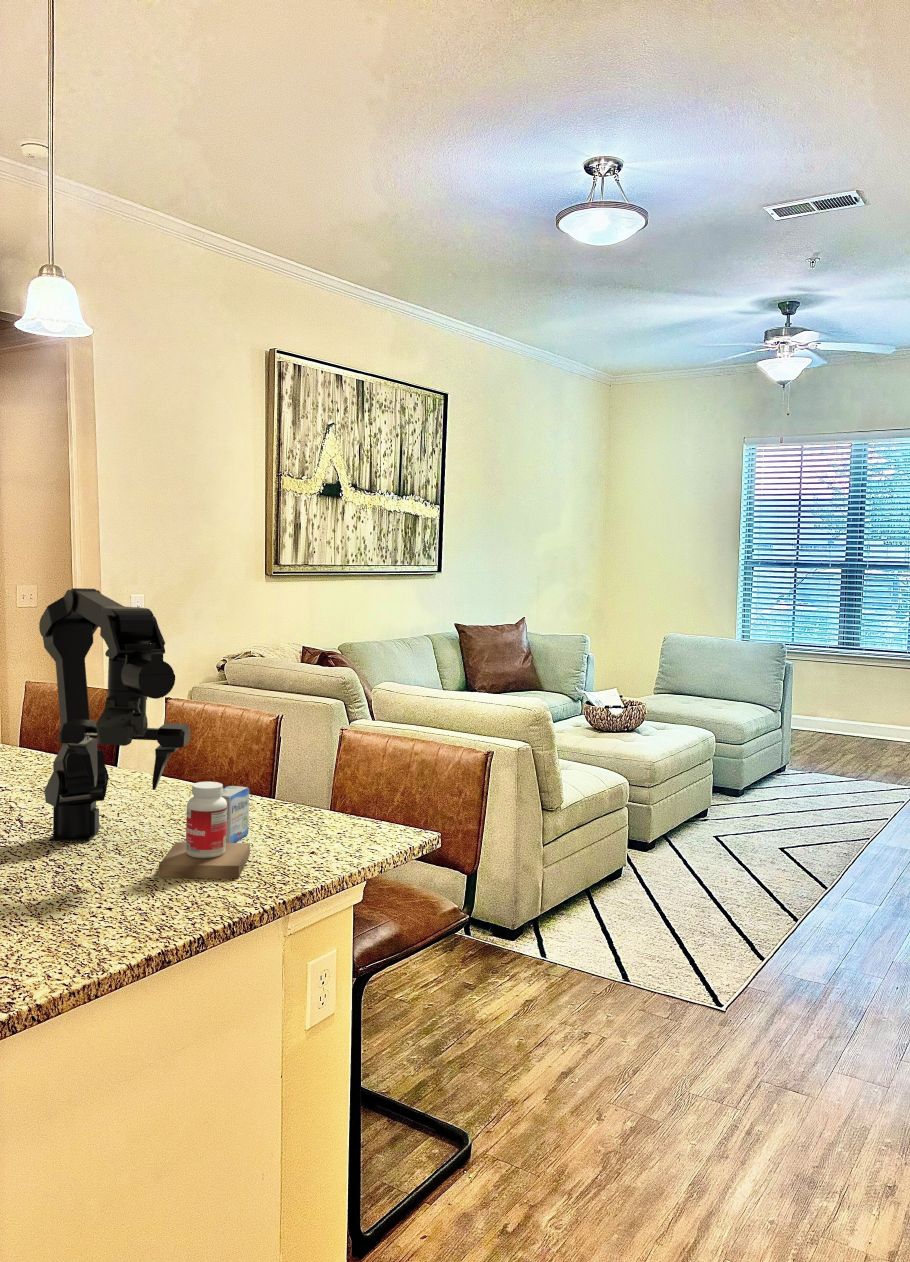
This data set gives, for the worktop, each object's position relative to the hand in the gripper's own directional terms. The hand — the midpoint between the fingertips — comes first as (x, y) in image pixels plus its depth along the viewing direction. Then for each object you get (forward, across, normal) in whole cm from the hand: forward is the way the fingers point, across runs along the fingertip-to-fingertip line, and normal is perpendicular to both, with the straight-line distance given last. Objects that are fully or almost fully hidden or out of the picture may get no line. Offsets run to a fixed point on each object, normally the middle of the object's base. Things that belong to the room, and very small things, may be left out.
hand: (124, 787), depth 148 cm
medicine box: (+13, +14, +15) cm, 24 cm away
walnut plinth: (+12, +13, 0) cm, 18 cm away
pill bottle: (+10, +13, 0) cm, 16 cm away
